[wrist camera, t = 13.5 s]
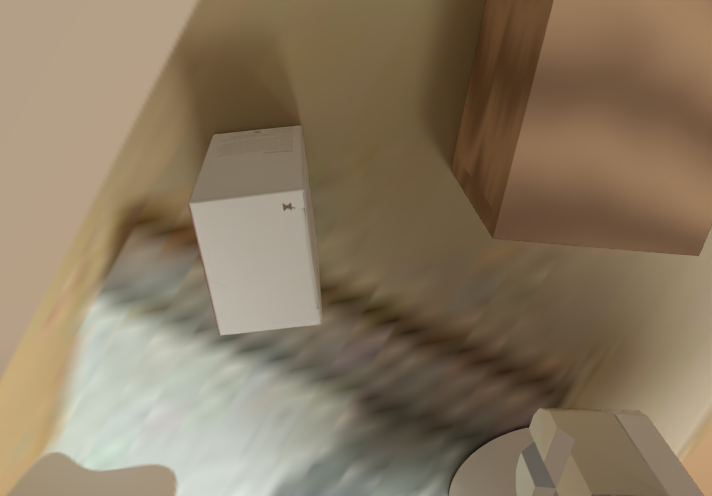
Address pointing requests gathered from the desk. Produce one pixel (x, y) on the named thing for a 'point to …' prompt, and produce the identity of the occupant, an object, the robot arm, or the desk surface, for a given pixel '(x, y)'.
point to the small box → (258, 231)
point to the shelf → (591, 123)
